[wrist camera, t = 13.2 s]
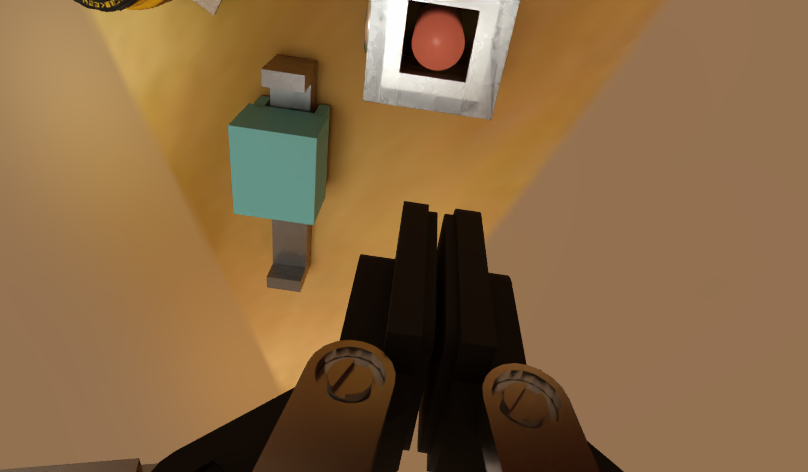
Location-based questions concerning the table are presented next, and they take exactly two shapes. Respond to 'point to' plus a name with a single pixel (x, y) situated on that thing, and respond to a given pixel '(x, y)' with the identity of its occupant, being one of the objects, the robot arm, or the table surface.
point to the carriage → (279, 161)
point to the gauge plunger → (438, 36)
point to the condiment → (140, 4)
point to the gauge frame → (437, 89)
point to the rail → (290, 240)
